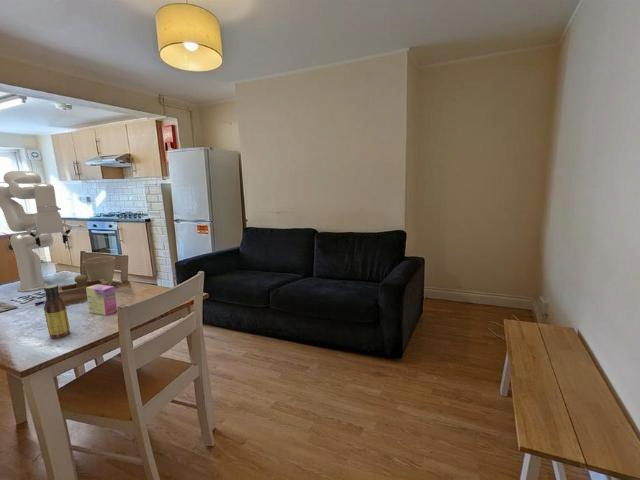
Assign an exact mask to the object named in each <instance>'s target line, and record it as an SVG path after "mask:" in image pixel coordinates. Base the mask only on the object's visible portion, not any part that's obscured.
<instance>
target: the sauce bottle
mask: <svg viewBox="0 0 640 480" xmlns="http://www.w3.org/2000/svg"><path fill="white" fill-rule="evenodd" d="M58 287H59V285H58V284H48V286H45V287H44V288H43V291H44V293H45V303H44V306H43V311H44V316H45V321H46V326H47V330H48V334H49V337H50V338H52V339H58V338H63V337H65V336H67V335H68V334H70V333H71V327H70V324H69V323H70V322H69V321H70V320H69V316H68V310H67V307H66V306H65V302H64V300H63V299H62V298H61V297H59V292H58Z"/></svg>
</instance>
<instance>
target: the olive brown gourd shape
mask: <svg viewBox="0 0 640 480" xmlns="http://www.w3.org/2000/svg"><path fill="white" fill-rule="evenodd" d="M87 281H88V275H86V274H81V275H76V276H75V277H74V282H75V283H76V288H80V287H85V286H88V284H87Z"/></svg>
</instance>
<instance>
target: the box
mask: <svg viewBox="0 0 640 480" xmlns="http://www.w3.org/2000/svg"><path fill="white" fill-rule="evenodd" d="M115 290H116V289H115V286H113V285H111V286H107V285H99V284H97V285H93V286H90V287H87V288H86V292H87V299H88V301H87V306H88V313H90V314H91V313H92V314H98V315H101V316H102V315H103V316H108V315H110V314H112V313H115V312H117V311H116V308H117V309H118V307H117V299H116V291H115Z"/></svg>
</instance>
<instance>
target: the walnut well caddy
mask: <svg viewBox="0 0 640 480" xmlns="http://www.w3.org/2000/svg"><path fill="white" fill-rule="evenodd" d="M87 284H88V286H85V287H80V288H76V282H75V283H71V284H64V285H60V286H59V285H58V292H59V297H61V298H62V299H63V300H64V302H65V307H66V306H71V305H75V304H80V303H84V302H88V299H87V292H86V288H87V287H90V286H93V285H97V284H99V285H107V286H108V283H107V282H106V281H105V280H104V279H97V280H92V281H91V280H87Z"/></svg>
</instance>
